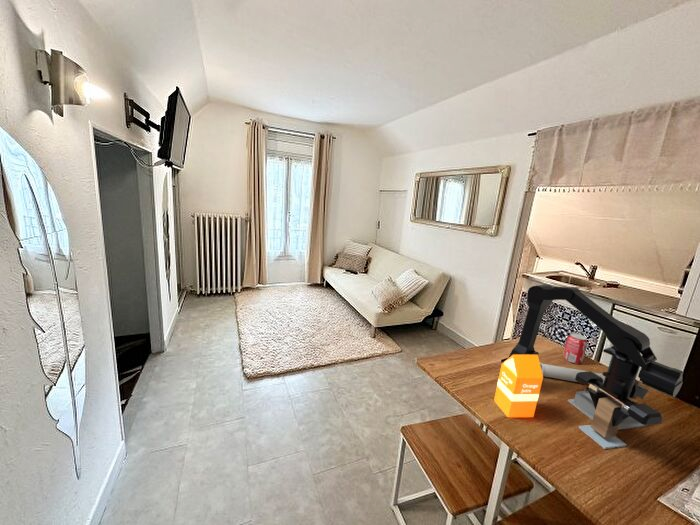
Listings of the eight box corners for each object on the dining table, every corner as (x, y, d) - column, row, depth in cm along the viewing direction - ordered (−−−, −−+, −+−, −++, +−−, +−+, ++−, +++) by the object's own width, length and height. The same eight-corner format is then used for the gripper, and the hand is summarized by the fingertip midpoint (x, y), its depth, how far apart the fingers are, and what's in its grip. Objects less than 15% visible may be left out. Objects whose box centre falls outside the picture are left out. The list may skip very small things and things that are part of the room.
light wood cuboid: (604, 437, 80) (614, 408, 77) (590, 426, 83) (599, 398, 81) (615, 436, 80) (625, 407, 78) (601, 425, 84) (610, 397, 82)
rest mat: (604, 449, 78) (605, 447, 78) (578, 427, 85) (578, 425, 85) (625, 446, 79) (626, 444, 79) (598, 425, 87) (598, 423, 86)
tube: (606, 372, 109) (536, 361, 114) (617, 376, 104) (543, 364, 109) (606, 386, 108) (536, 374, 113) (616, 391, 103) (542, 378, 108)
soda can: (577, 358, 126) (584, 334, 123) (584, 366, 119) (591, 341, 117) (559, 354, 128) (565, 331, 125) (565, 362, 121) (572, 338, 119)
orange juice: (493, 400, 95) (504, 348, 90) (517, 400, 96) (529, 348, 91) (508, 418, 87) (520, 361, 83) (534, 417, 88) (547, 361, 84)
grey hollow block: (607, 431, 84) (611, 417, 83) (567, 400, 97) (570, 388, 96) (646, 426, 87) (651, 412, 86) (603, 397, 100) (606, 385, 99)
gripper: (687, 394, 70) (668, 444, 74) (608, 353, 88) (595, 396, 91) (654, 397, 68) (635, 449, 71) (579, 355, 86) (567, 398, 89)
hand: (606, 420), depth 81 cm, fingers closed on light wood cuboid, 4 cm apart
